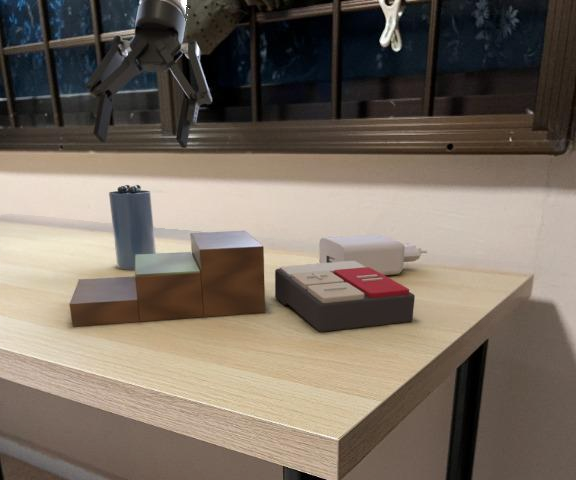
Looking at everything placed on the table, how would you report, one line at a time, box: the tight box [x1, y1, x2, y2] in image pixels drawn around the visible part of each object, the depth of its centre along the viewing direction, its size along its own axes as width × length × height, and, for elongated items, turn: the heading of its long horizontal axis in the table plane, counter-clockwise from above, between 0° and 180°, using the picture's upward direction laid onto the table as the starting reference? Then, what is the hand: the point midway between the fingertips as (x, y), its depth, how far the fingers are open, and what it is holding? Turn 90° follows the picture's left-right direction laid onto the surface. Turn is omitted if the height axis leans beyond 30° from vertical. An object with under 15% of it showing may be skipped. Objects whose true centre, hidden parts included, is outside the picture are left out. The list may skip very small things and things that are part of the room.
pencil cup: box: [108, 184, 157, 271], centre depth 92 cm, size 6×6×12 cm
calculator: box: [274, 261, 416, 333], centre depth 70 cm, size 11×4×15 cm
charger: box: [318, 233, 428, 276], centre depth 89 cm, size 5×9×15 cm
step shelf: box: [68, 230, 266, 327], centre depth 71 cm, size 21×12×8 cm, turn 103°
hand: (139, 141), depth 95 cm, fingers open, 13 cm apart
